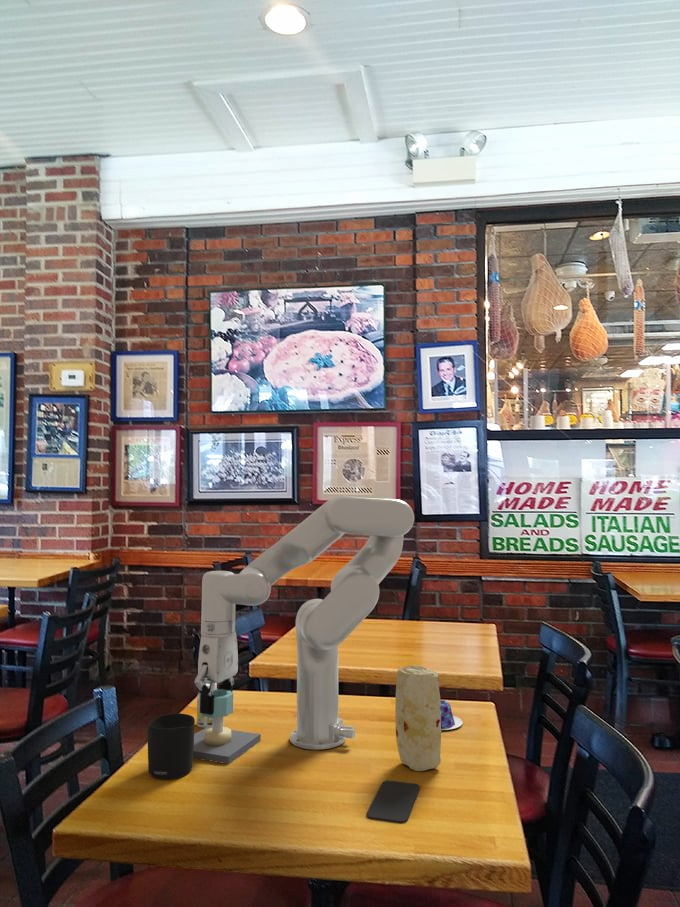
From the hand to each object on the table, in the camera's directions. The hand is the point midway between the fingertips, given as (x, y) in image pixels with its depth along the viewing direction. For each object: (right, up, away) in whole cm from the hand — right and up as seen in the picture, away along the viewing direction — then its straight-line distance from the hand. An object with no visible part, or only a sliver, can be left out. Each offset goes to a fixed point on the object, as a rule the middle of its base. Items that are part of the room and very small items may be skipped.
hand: (216, 707), depth 149 cm
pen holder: (-7, -8, -13) cm, 17 cm away
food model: (+44, -8, -11) cm, 46 cm away
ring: (0, -1, 0) cm, 1 cm away
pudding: (+51, -10, +15) cm, 55 cm away
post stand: (0, -9, 0) cm, 9 cm away
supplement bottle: (-5, -10, +14) cm, 18 cm away
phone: (+37, -8, -27) cm, 47 cm away
